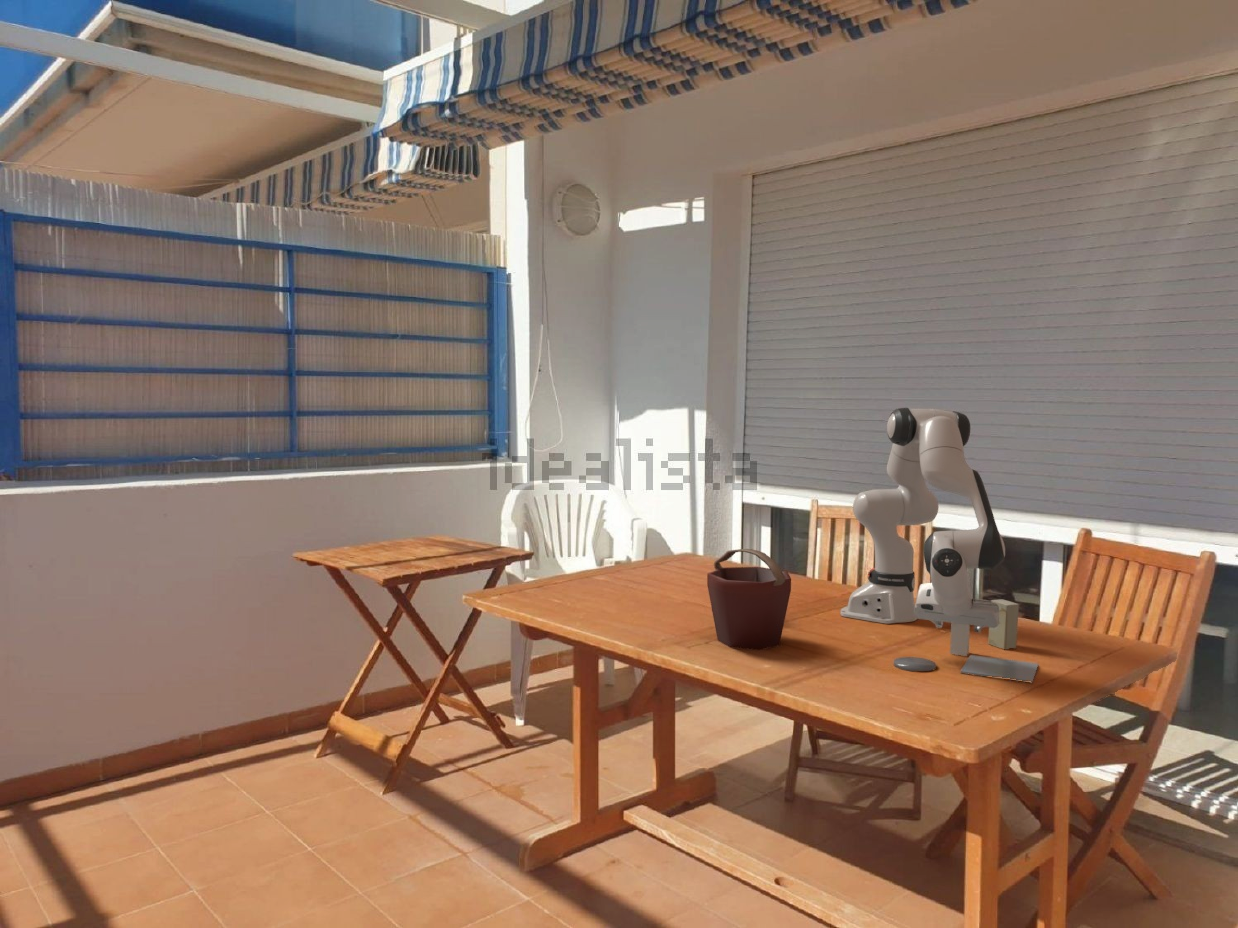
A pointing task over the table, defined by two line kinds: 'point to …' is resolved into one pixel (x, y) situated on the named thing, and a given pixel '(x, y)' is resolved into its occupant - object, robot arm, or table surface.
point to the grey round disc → (914, 664)
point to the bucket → (749, 602)
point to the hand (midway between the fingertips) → (958, 627)
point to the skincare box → (1005, 625)
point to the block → (959, 639)
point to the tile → (1000, 668)
